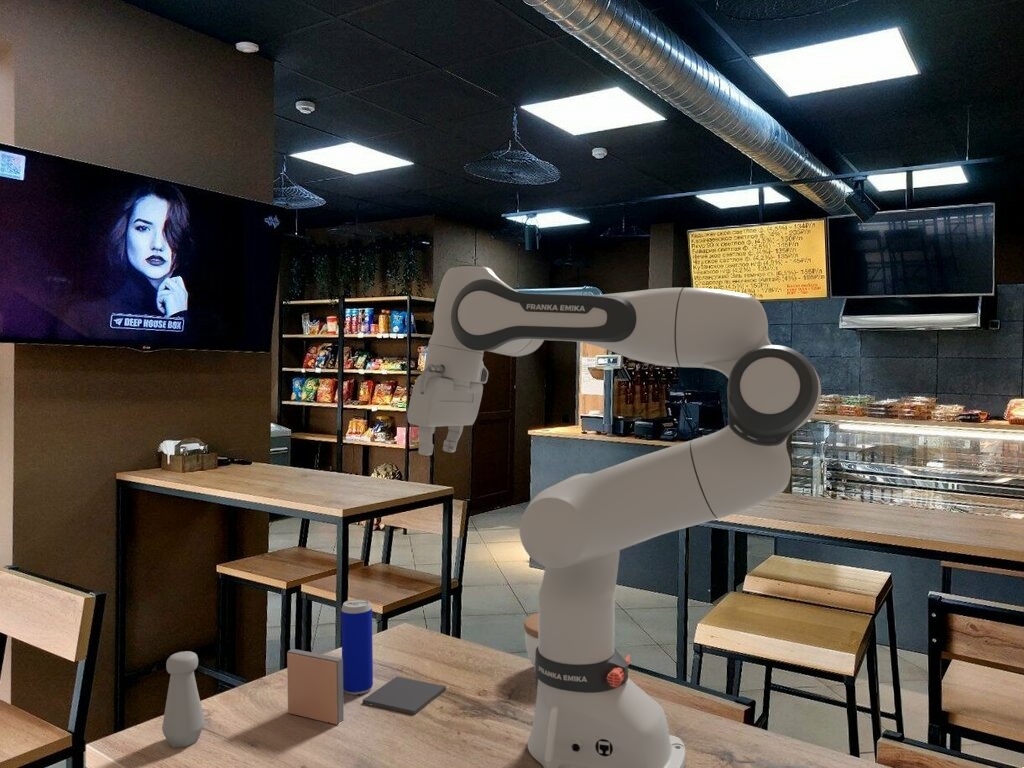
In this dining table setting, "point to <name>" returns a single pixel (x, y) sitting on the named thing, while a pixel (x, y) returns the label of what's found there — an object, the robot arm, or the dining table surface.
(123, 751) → the dining table surface
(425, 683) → the rubber mat
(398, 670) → the dining table surface
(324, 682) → the ceramic tile
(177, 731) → the salt shaker
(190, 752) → the dining table surface
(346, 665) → the beverage can
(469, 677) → the dining table surface
